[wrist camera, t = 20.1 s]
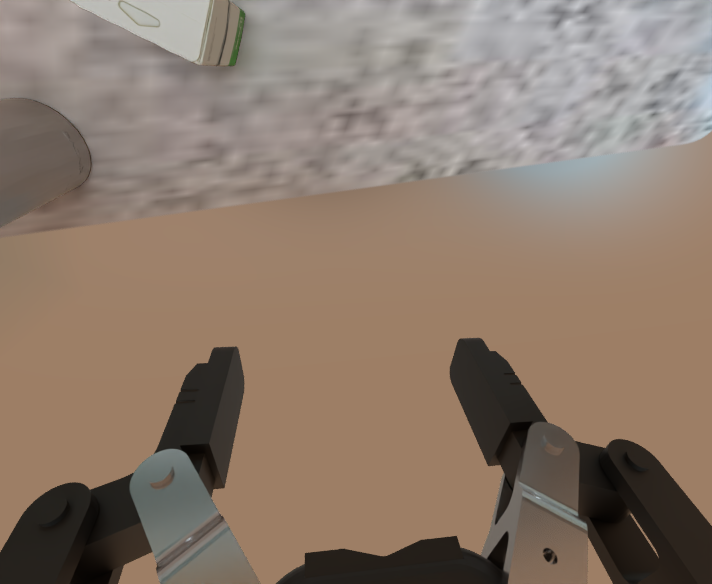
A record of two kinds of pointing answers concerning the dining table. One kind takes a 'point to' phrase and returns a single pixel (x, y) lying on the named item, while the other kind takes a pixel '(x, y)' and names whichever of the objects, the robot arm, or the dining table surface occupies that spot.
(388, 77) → the dining table surface
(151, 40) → the ink box
